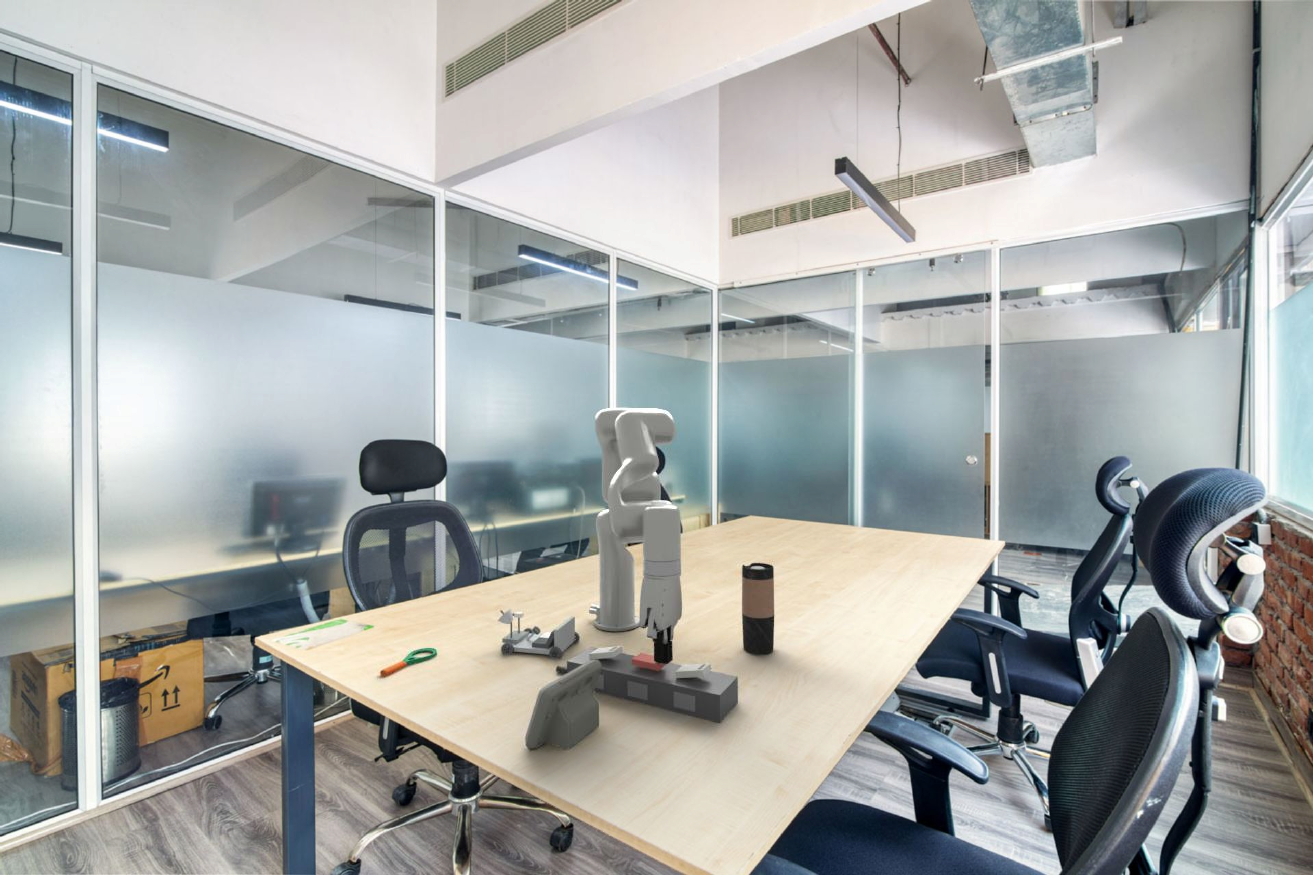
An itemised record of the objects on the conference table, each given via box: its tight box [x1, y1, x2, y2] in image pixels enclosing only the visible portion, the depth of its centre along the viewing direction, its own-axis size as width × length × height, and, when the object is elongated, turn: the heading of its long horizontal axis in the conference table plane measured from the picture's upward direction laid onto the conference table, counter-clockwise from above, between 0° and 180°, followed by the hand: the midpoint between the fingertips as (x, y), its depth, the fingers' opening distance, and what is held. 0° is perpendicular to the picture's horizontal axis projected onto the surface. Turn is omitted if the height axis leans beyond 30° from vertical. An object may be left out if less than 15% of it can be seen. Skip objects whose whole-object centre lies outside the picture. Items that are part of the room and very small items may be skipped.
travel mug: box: [741, 562, 775, 656], centre depth 139 cm, size 8×8×20 cm
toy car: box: [497, 608, 581, 660], centre depth 142 cm, size 18×10×12 cm
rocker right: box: [675, 663, 712, 678], centre depth 111 cm, size 6×4×1 cm, turn 61°
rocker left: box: [589, 645, 624, 660], centre depth 121 cm, size 6×4×1 cm, turn 61°
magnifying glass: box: [379, 647, 438, 677], centre depth 132 cm, size 15×6×2 cm, turn 160°
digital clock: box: [524, 660, 601, 750], centre depth 101 cm, size 16×9×11 cm, turn 139°
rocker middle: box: [632, 652, 667, 671], centre depth 116 cm, size 6×4×1 cm, turn 62°
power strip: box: [555, 646, 739, 724], centre depth 117 cm, size 40×9×5 cm, turn 61°
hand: (663, 661), depth 114 cm, fingers closed
